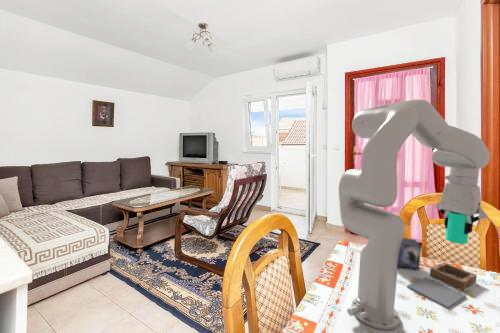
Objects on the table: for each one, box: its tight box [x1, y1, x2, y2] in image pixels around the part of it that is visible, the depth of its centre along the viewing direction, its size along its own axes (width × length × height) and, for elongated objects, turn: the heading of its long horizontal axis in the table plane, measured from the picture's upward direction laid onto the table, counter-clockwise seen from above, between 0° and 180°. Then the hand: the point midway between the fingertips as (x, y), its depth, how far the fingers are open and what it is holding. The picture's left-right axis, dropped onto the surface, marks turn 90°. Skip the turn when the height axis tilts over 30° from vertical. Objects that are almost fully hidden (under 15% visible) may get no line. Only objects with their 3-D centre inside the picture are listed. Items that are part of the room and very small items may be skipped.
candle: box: [445, 211, 469, 245], centre depth 86 cm, size 6×6×12 cm
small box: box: [397, 237, 422, 271], centre depth 98 cm, size 11×6×10 cm, turn 77°
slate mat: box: [406, 276, 467, 310], centre depth 81 cm, size 12×12×1 cm
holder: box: [429, 262, 478, 292], centre depth 88 cm, size 10×10×3 cm
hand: (457, 230), depth 86 cm, fingers closed on candle, 4 cm apart
